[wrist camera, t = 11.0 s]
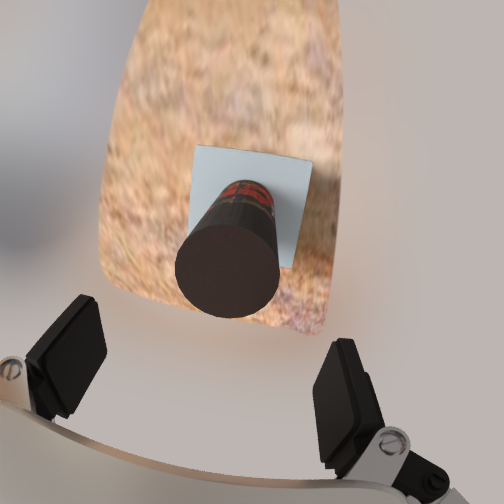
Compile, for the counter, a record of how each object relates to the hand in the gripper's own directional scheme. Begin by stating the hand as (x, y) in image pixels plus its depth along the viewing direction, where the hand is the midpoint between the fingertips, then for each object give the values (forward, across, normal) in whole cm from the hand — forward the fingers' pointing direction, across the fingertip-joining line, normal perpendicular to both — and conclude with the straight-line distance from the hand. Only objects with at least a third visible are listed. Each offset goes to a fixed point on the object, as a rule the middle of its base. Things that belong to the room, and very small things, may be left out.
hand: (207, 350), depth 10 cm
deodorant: (+21, 0, 0) cm, 21 cm away
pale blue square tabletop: (+28, 0, 0) cm, 28 cm away
